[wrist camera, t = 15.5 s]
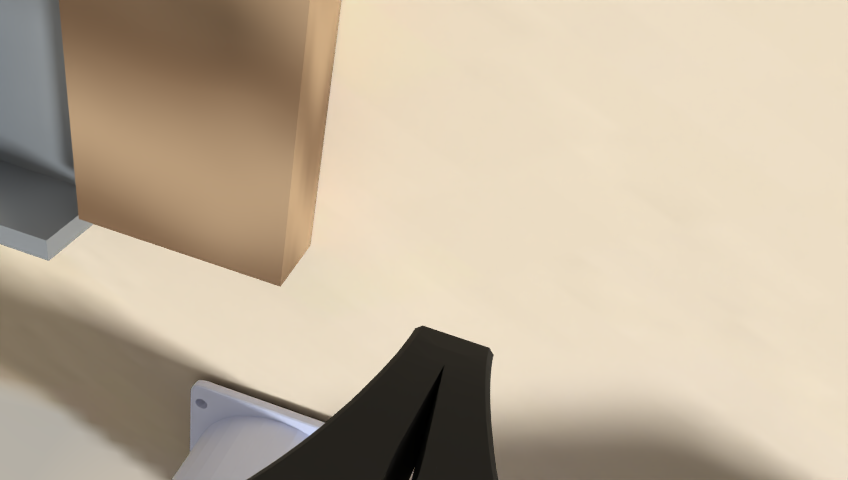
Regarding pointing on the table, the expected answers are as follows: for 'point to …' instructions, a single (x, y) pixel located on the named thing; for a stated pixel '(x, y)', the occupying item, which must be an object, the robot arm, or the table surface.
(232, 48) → the ledge
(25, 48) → the tray
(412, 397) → the robot arm
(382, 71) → the table surface
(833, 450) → the table surface
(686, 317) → the table surface
